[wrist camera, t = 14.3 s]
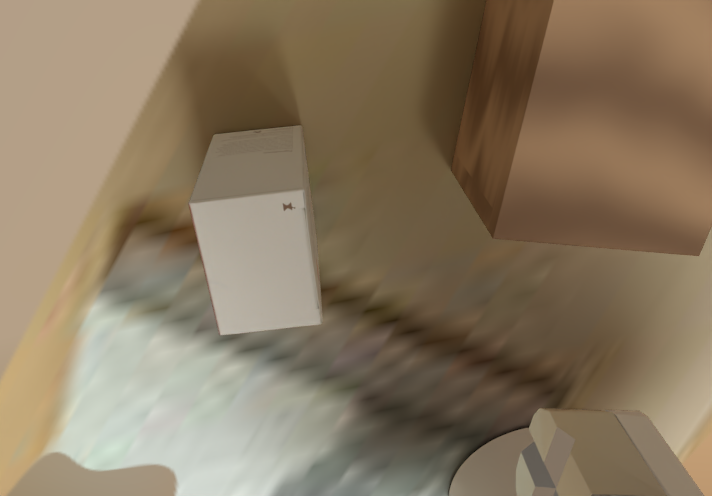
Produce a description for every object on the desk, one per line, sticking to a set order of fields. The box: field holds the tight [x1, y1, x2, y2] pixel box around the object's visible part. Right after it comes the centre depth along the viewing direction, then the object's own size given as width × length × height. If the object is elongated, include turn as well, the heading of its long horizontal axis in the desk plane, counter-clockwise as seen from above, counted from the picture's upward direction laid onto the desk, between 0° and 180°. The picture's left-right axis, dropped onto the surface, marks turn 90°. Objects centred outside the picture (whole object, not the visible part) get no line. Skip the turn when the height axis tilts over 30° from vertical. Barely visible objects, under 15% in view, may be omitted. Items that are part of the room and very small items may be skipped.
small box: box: [188, 125, 323, 335], centre depth 36 cm, size 8×6×10 cm
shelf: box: [451, 0, 712, 256], centre depth 34 cm, size 14×11×10 cm
